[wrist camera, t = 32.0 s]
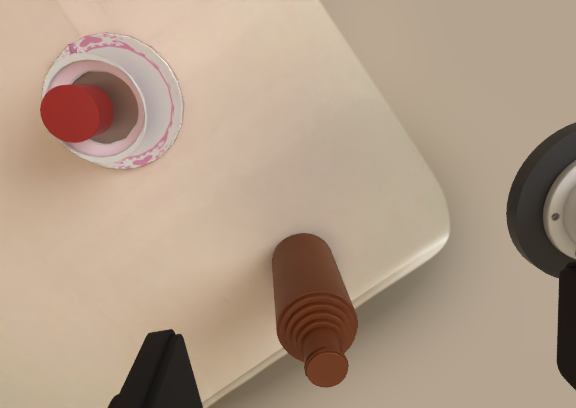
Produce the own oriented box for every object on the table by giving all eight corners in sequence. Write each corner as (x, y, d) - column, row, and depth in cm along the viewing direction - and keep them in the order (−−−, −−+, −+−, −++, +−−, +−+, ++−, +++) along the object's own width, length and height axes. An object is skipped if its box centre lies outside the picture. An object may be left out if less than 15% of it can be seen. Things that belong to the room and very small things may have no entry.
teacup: (203, 145, 40) (194, 158, 34) (85, 184, 41) (56, 204, 35) (152, 14, 37) (132, 3, 31) (23, 58, 37) (-22, 56, 31)
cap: (109, 81, 32) (93, 82, 29) (119, 134, 33) (105, 140, 30) (54, 85, 32) (33, 87, 29) (67, 138, 33) (48, 145, 30)
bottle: (327, 227, 44) (367, 320, 27) (337, 281, 46) (380, 398, 29) (266, 240, 44) (270, 340, 27) (278, 294, 46) (289, 417, 29)
